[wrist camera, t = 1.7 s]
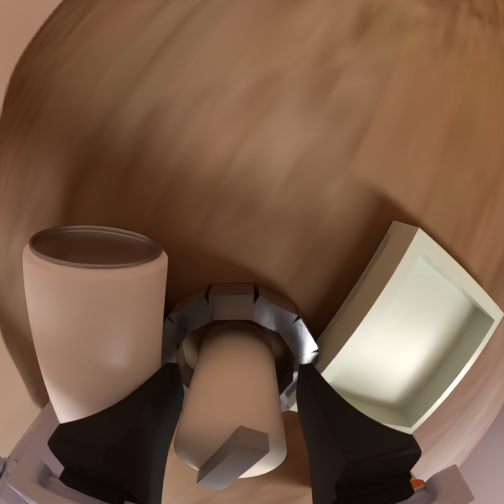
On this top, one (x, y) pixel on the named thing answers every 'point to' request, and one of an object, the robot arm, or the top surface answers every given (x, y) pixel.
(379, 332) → the tray
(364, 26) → the top surface
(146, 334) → the can
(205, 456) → the peg
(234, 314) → the collar
